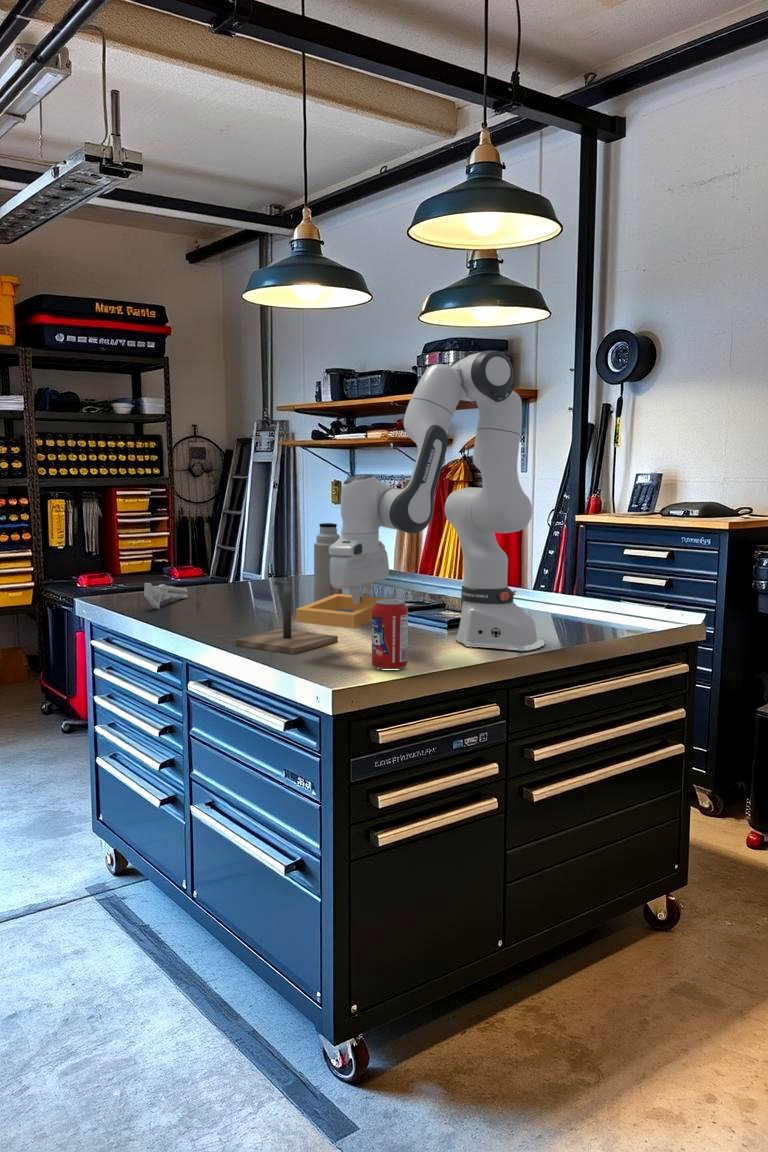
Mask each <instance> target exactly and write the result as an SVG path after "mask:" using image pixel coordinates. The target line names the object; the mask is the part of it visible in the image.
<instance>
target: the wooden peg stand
mask: <svg viewBox="0 0 768 1152" xmlns="http://www.w3.org/2000/svg"><path fill="white" fill-rule="evenodd" d="M274 586H278V587H279V586H281V587H282V618H283V619H282V628H278V629H275V630H274V629H273V630H270V631H265V632H262V633H257V634H253V635H252V634H251V635H249V636H243V637H240V638H235V646H237V647H244V648H250V649H256V650H257V649H258V650H262V649H263V650H264V651H271V652H275V651H276V653H281V652H282V653H284V654H289V655H290V654H291V655H297V654H299V653H303V652H307V651H310V650H313V649H317V648H321V647H325V646H328V645H332V644H335V643H338V641H339V640H338V639H339V637H338V635H332V634H326V633H325V634H324V633H317V632H310V631H305V630H304V631H303V630H302V631H301V630H295V629H292V581H288V580H287V581H283V580H274ZM282 653H281V654H282Z"/></svg>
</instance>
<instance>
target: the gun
mask: <svg viewBox="0 0 768 1152" xmlns="http://www.w3.org/2000/svg"><path fill="white" fill-rule="evenodd" d="M143 585H144V586H143V588H144V590H143V594H144V595H143V597H144V598H145V599H146V600H147V601H148V603H149V604H150V606H152V608H153V609H154V610H159V609H160V605H161V601H165V600H169V599H171V598H179V599H184V600H185V599H187V598H188V589H187V587H179V586H178V587H177V586H173V585H166V584H159V585H153V584H152V583H150V582H149V583H147V582H145V583H144V584H143Z"/></svg>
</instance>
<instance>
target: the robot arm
mask: <svg viewBox="0 0 768 1152" xmlns="http://www.w3.org/2000/svg"><path fill="white" fill-rule="evenodd" d="M510 360H511V359H509V357H508V356H507V355H506V354H505V353H503V352H500V351H497V350H483V351H481V352H477V353H472V354H469V355H467V356H465V357H464V358H461V359H458V360H456V361H454V362H453V363H451V364H449V365H448V364H443V363H436V364H433V365H430V366H428V367H427V368H426V370H425V371H424V372H423V374H422V376H421V377H420V379H419V381H418V383H417V385H416V386H415V389H414V390H413V393H412V395H411V398H410V400H409V402H408V404H407V407H406V411H405V414H404V418H403V428H404V430H405V433H406V435H407V436H408V437H409V439H410V440H411V441H413V442H414V443H415V444H416V447H417V456H416V459H415V461H414V466H413V470H412V471H411V476H410V479H409V481H408V484H407V485H406V486H405V487H404V488H399V487H398V488H395V487H393V486H391V485H388V484H386V483H383V482H382V481H380V480H379V479H377V478H376V477H375V476H374V475H373V474H361V475H360V474H359V475H354V476H350V477H349V478H348V477H347V479H345V480H344V482H343V483H342V486H341V492H340V517H341V519H342V520H341V521H342V527H341V530H340V531H341V532H340V533H341V534H340V535H341V536H340V538H339V539H338V540H337V541H336V542H335V543H333V544H332V545H331V546H330V547H329V554H330V555H333V556H332V557H331V559H330V583H331V585H332V587H333V588H337V589H342V590H346V589H348V590H349V592H350V595H352V597H353V603H354V604H360V603H362V596H368V597H371V594H372V590H373V588H374V582H377V581H381V580H385V579H388V578H389V574H390V567H389V566H390V564H389V557H388V552H387V549H386V546H385V545H384V543H383V542H382V541H381V540H380V533H379V529H380V527H382V528H386V529H387V528H388V529H391V530H396V531H397V530H398V531H400V532H404V533H407V534H412V535H413V534H417V533H420V532H422V531H423V530H425V529H426V528H428V526H429V524H430V522H431V521H432V519H433V516H434V507H435V505H434V504H435V493H436V488H437V485H438V482H439V479H440V474H441V471H442V468H443V464H444V460H445V457H446V452H447V448H448V438H449V437H448V433H449V429H450V425H451V422H452V419H453V418H454V415H455V412H456V409H457V406H458V404H459V403H470V402H476V405H477V409H478V421H477V427H476V433H475V439H474V446H473V454H472V463H473V465H474V466H475V467H476V468H477V469H478V470H479V471H480V474H481V476H482V487H472V486H468V487H463V488H460V489H456V490H454V491H452V492H451V493H450V494H449V495H448V496H447V498H446V500H445V503H444V515H445V518H446V520H447V521H448V522H449V524H450V525H451V526H452V527H453V528H454V530H455V532H456V534H457V538H458V540H459V543H460V548H461V552H462V557H463V559H462V560H463V579H462V580H463V585H461V591H460V592H461V593H460V596H461V597H460V599H461V600H460V602H461V614H460V620H459V626H458V632H457V635H456V638H455V641H456V640H457V641H459V642H461V643H463V644H464V645H471V646H472V645H473V646H497V647H514V648H519V647H520V648H521V647H522V646H527V645H531V644H534V643H535V642H537V627H536V624H535V621H534V619H533V618H532V617H531V616H530V615H528V613H526V612H525V611H524V610H523V609H522V608H521V607H520V606H518V605H517V604H516V603H515V602H514V596H517V594H516V593H517V590H511V588H510V587H509V586H508V570H509V569H508V568H509V567H508V565H509V558H508V555H507V553H506V551H504V550H503V549H502V547H500V546H499V544H498V541H497V538H496V533H498V534H509V533H516V532H520V531H523V530H524V529H525V528H527V526H528V525H529V523H530V522H531V518H532V515H533V505H532V503H531V500H530V497H529V496H527V494H526V493H525V492H524V490H523V488H522V486H521V483H520V479H519V474H518V473H519V472H518V460H519V459H518V458H519V457H518V456H519V451H520V442H521V435H522V428H523V427H522V424H523V402H522V398H521V396H520V395H519V394H518V393H517V392H516V391H514V388H515V381H514V369H513V364H512V363H511V361H510ZM361 585H362V587H363V590H362V593H361V594H360V591H359V590H360V588H361ZM457 641H456V642H457ZM459 642H458V643H459ZM461 643H460V644H461ZM463 644H462V645H463Z"/></svg>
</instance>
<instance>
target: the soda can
mask: <svg viewBox="0 0 768 1152" xmlns="http://www.w3.org/2000/svg"><path fill="white" fill-rule="evenodd" d="M375 602H376V603H375V605H374V607H373V608H372V621H371V665H372V666H373V667H374V668H376V669H377V668H379V669H400V668H402V669H404V668H406V667H407V665H408V640H409V639H408V637H409V636H408V634H409V632H408V629H409V627H408V626H409V622H408V621H409V613H408V612H409V609H408V606H407V605H406V604H405V603H406V602H405V600H403V599H396V598H390V599H380V600H376V601H375ZM379 669H378V670H379ZM400 670H401V669H400Z"/></svg>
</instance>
